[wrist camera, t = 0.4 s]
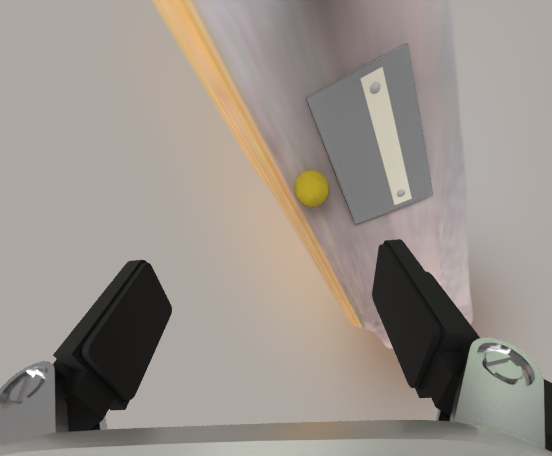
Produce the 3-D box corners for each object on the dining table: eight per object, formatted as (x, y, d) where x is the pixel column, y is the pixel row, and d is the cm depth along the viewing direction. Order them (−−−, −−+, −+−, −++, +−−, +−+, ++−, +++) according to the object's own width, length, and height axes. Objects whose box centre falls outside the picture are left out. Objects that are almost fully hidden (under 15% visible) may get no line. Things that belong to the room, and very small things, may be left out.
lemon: (331, 176, 43) (340, 196, 36) (310, 198, 45) (315, 221, 39) (307, 156, 41) (313, 174, 35) (286, 181, 44) (288, 202, 37)
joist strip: (360, 78, 34) (360, 78, 33) (382, 66, 33) (382, 66, 33) (394, 205, 44) (394, 205, 44) (411, 198, 44) (411, 198, 43)
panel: (305, 97, 36) (306, 99, 35) (402, 44, 33) (407, 43, 31) (353, 220, 48) (355, 224, 47) (428, 191, 44) (433, 194, 43)
